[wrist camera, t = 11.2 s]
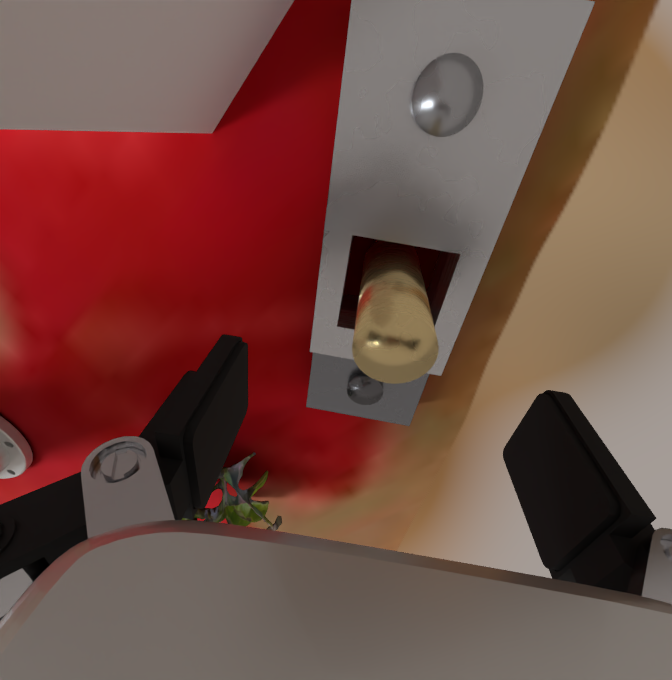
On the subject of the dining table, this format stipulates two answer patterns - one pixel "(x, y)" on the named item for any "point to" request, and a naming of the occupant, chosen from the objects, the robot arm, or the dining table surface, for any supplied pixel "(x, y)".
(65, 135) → the dining table surface
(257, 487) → the passion flower
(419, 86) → the grey long rectangular block
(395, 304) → the brass pin
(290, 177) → the dining table surface
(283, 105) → the dining table surface
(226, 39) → the milk
